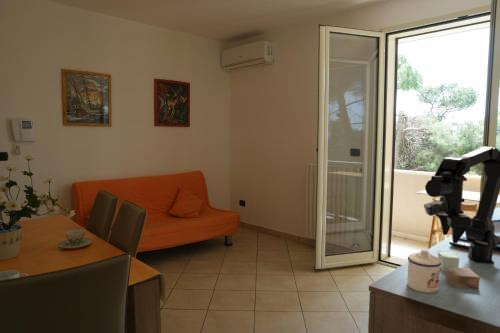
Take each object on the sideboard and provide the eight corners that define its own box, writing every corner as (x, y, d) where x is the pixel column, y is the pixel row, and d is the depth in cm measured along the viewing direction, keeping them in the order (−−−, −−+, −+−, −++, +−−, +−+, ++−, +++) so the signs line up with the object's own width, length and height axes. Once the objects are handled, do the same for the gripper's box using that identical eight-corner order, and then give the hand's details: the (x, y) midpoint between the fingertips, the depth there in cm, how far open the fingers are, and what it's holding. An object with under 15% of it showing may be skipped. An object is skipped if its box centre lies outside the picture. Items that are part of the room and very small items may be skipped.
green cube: (452, 266, 125) (453, 252, 124) (458, 272, 120) (459, 257, 119) (437, 265, 126) (438, 251, 125) (442, 270, 121) (443, 256, 120)
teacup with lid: (432, 296, 102) (435, 258, 101) (401, 286, 109) (403, 250, 107) (446, 284, 110) (449, 248, 109) (416, 275, 117) (418, 241, 116)
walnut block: (468, 280, 114) (469, 268, 114) (478, 289, 107) (479, 277, 107) (445, 278, 115) (445, 266, 115) (453, 288, 108) (454, 275, 108)
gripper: (419, 188, 131) (417, 229, 132) (436, 199, 112) (433, 246, 114) (452, 189, 129) (449, 231, 130) (474, 200, 110) (471, 248, 112)
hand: (449, 238), depth 122 cm, fingers open, 9 cm apart
